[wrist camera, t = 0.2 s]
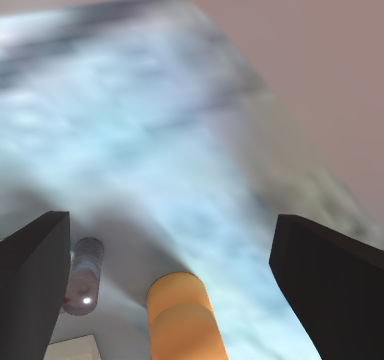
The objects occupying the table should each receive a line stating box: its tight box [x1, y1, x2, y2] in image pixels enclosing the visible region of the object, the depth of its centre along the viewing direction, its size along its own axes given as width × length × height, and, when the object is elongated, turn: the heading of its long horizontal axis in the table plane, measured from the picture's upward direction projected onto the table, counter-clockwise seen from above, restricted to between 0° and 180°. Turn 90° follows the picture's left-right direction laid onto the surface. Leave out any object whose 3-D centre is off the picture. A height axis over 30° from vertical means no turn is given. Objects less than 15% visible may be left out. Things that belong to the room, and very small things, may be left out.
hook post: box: [59, 238, 104, 316], centre depth 20 cm, size 2×3×5 cm, turn 98°
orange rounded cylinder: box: [147, 272, 228, 360], centre depth 22 cm, size 4×4×6 cm
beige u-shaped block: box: [0, 239, 101, 360], centre depth 22 cm, size 12×9×2 cm
